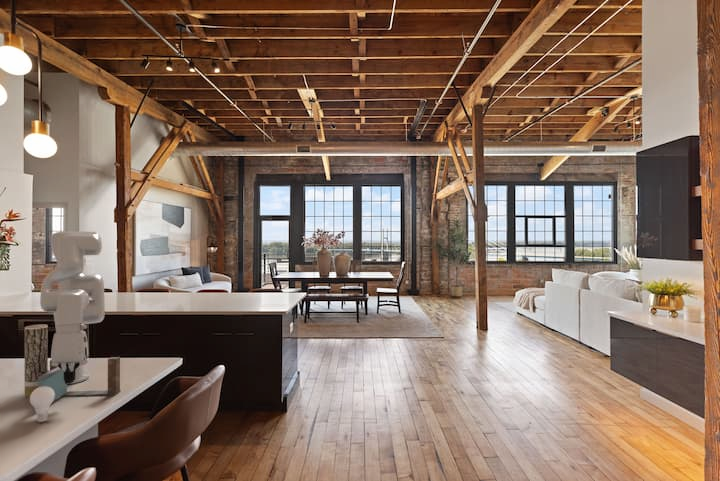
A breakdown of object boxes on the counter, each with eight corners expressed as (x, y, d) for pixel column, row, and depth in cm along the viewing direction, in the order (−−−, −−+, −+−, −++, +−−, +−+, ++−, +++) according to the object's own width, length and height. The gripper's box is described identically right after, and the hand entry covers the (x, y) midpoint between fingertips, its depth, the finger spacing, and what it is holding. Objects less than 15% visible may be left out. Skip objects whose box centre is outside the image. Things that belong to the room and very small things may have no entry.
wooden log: (22, 399, 157) (22, 328, 157) (26, 393, 163) (26, 325, 163) (46, 396, 161) (46, 326, 161) (48, 390, 167) (49, 323, 167)
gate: (62, 391, 163) (62, 363, 163) (68, 391, 163) (68, 363, 163) (37, 407, 147) (37, 376, 147) (43, 407, 147) (43, 376, 147)
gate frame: (48, 397, 160) (48, 361, 160) (55, 393, 164) (55, 358, 164) (115, 395, 162) (115, 359, 162) (120, 391, 166) (120, 356, 166)
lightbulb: (38, 418, 141) (38, 383, 141) (59, 417, 141) (59, 383, 141) (24, 426, 134) (24, 390, 134) (47, 426, 135) (47, 389, 135)
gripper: (97, 325, 157) (97, 377, 157) (51, 327, 155) (50, 380, 155) (88, 330, 150) (88, 384, 150) (39, 331, 147) (39, 387, 147)
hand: (69, 382), depth 152 cm, fingers closed
